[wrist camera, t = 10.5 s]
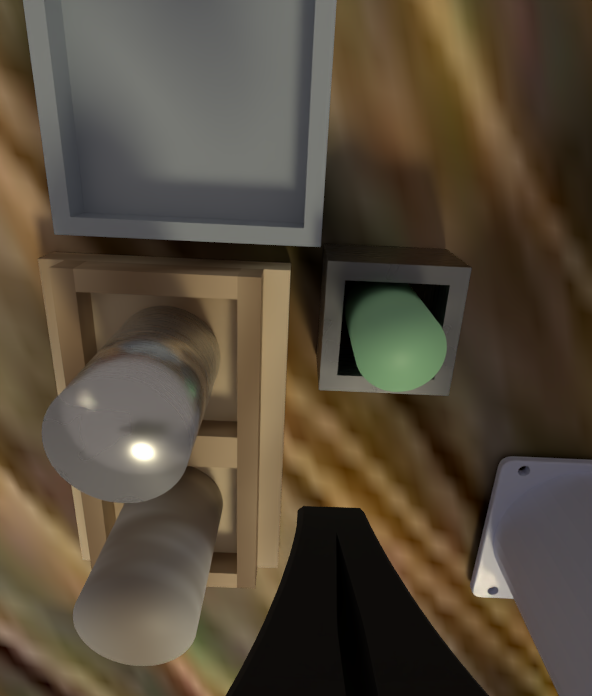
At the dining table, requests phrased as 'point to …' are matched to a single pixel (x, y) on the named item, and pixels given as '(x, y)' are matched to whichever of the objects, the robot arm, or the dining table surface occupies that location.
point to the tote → (184, 117)
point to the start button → (393, 335)
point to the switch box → (399, 267)
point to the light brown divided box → (207, 455)
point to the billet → (135, 408)
